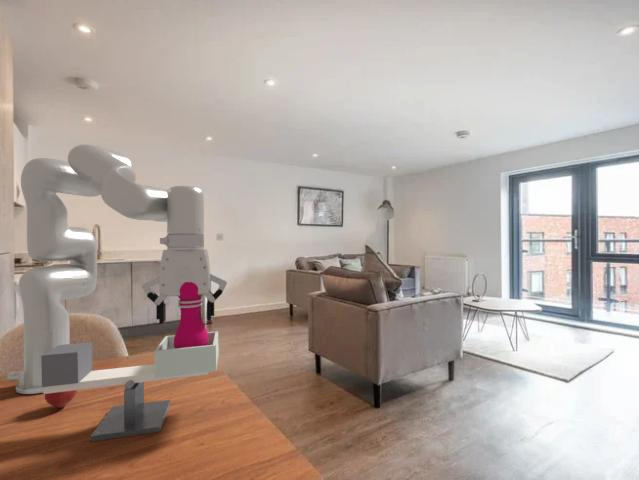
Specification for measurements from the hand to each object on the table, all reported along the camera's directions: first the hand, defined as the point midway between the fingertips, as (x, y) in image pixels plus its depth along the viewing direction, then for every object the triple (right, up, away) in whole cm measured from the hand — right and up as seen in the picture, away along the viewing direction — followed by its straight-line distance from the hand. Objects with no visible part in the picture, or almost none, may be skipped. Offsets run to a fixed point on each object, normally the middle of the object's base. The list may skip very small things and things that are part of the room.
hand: (186, 321), depth 74 cm
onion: (-30, -21, +3) cm, 37 cm away
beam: (-9, -12, -3) cm, 15 cm away
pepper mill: (+1, -9, 0) cm, 9 cm away
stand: (-10, -20, -3) cm, 23 cm away
